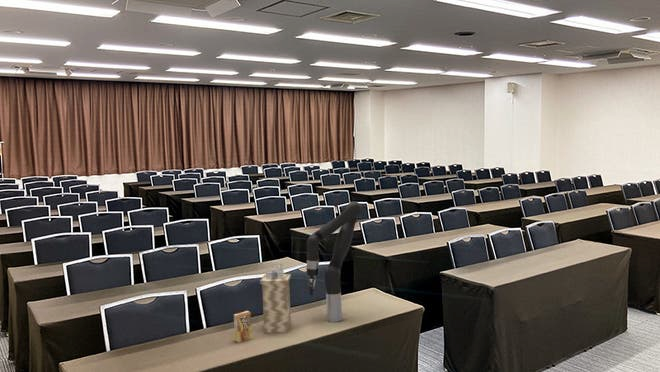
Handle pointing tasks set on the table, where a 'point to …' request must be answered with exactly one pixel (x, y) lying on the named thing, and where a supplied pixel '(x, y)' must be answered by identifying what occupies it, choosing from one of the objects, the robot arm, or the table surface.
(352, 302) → the table surface
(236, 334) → the candy box
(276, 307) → the pedestal
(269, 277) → the toggle bar
